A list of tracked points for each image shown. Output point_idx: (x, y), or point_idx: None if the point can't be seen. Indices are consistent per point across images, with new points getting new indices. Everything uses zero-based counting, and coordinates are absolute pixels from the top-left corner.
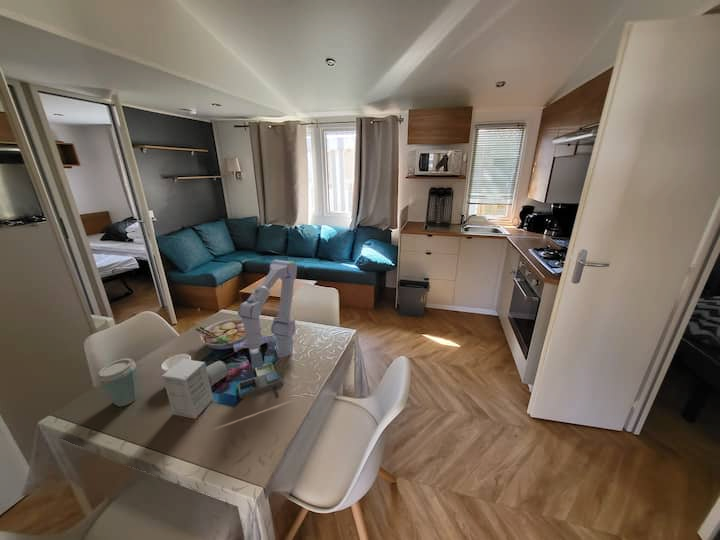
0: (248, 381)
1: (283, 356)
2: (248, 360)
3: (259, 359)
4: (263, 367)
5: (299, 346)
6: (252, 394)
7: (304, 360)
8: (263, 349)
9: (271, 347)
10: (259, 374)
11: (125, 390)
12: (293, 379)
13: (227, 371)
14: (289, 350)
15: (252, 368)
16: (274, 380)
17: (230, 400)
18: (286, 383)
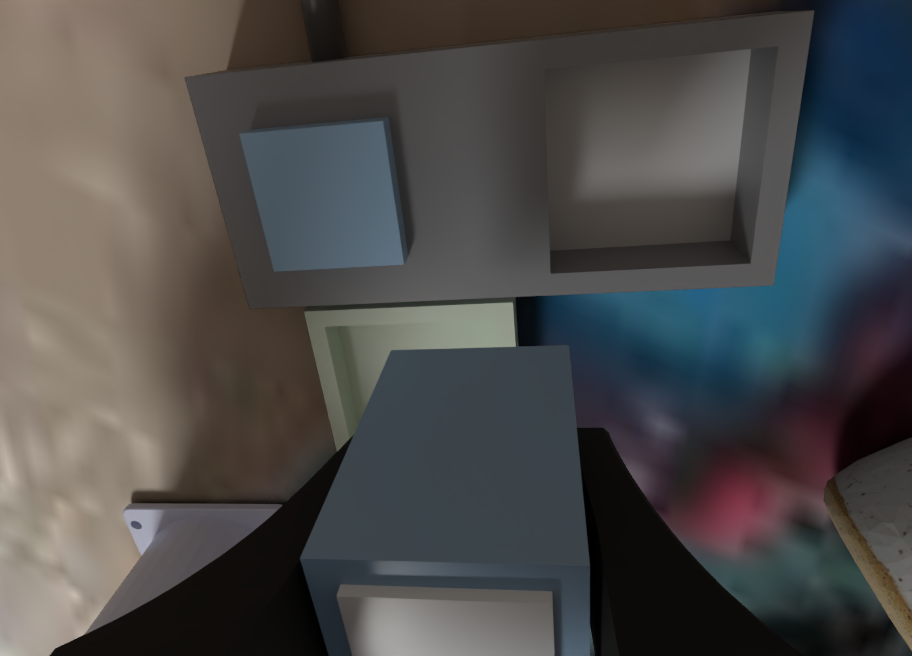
0: (629, 263)
1: (238, 510)
2: (638, 490)
3: (407, 442)
4: None
5: (107, 574)
6: (610, 29)
7: (32, 387)
8: (178, 648)
9: None
10: None
11: None
12: (114, 138)
13: (845, 505)
14: (156, 552)
15: (568, 349)
16: (296, 124)
17: (889, 60)
18: None
